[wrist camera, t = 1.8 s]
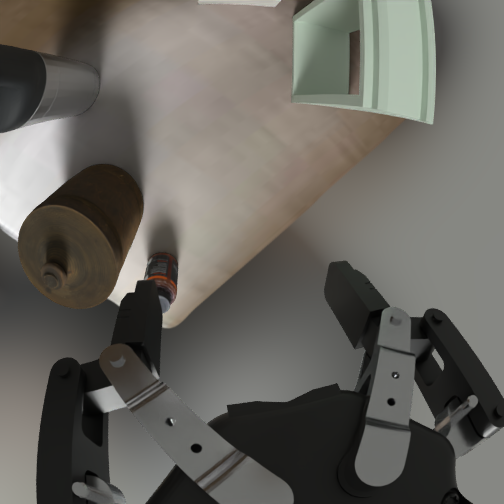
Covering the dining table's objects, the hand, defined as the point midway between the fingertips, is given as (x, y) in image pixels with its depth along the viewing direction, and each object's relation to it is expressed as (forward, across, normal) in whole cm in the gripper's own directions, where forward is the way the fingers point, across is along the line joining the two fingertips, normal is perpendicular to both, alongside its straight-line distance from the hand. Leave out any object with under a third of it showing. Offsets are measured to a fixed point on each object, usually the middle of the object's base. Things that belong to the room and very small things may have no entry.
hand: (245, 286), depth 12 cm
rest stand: (+34, -18, -16) cm, 42 cm away
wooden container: (+34, +19, +7) cm, 40 cm away
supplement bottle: (+34, +10, +20) cm, 41 cm away
